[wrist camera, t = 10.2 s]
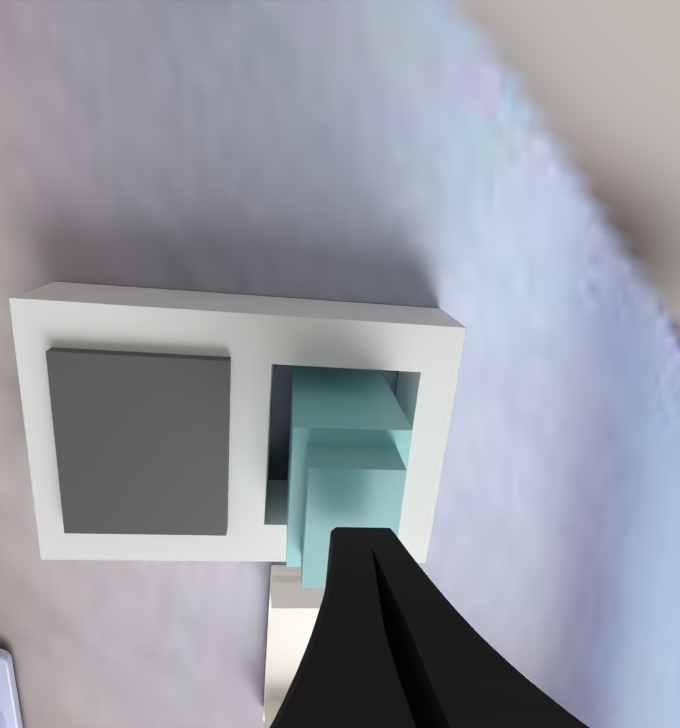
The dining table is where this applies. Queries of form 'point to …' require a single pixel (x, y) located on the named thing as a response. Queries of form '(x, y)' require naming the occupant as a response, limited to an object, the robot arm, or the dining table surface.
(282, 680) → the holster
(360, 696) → the robot arm
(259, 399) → the panel
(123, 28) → the dining table surface
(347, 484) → the plug
